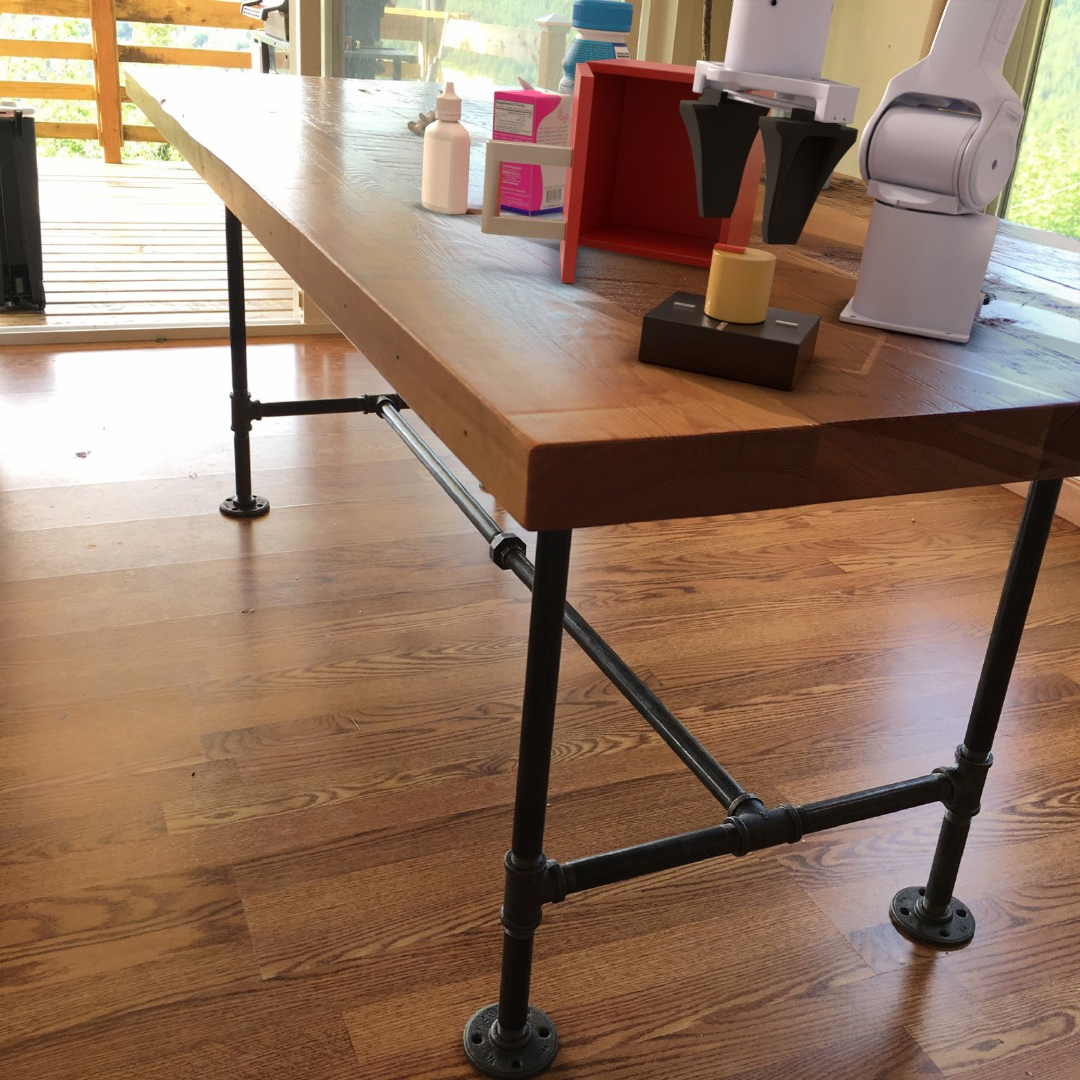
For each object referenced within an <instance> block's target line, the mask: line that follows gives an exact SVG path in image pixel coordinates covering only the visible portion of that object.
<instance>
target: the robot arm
mask: <svg viewBox="0 0 1080 1080" xmlns="http://www.w3.org/2000/svg"><path fill="white" fill-rule="evenodd" d="M732 1H733V2H732V7H731V14H730V15H731V16H730V21H729V29H728V36H727V43H726V50H725V56H724V61H715V60H713V61H712V60H702V59H701V60H700V59H698V60H696V64H695V67H696V70H695V78H694V85H693V92H696V93H700V94H702V97H699V101H691V100H682V101H681V102H680V113H681V115H682V118H683V120H684V123H685V126H686V128H687V132H688V135H689V139H690V142H691V147H692V152H693V157H694V164H695V173H696V184H697V197H698V207H699V215H700V216H701V217H703V218H731V216H732V213H733V211H734V208H735V205H736V202H737V199H738V194H739V190H740V186H741V182H742V177H743V173H744V169H745V165H746V162H747V159H748V156H749V153H750V150H751V147H752V145H753V142H754V140H755V138H756V136H757V133H758V131H759V129H760V131H761V136H762V141H763V147H764V166H765V167H764V169H765V174H766V180H765V185H764V186H765V187H764V198H763V209H762V216H761V217H762V219H761V235H762V236H761V237H762V243H764V244H767V245H771V246H772V245H773V246H774V245H775V246H776V245H778V246H779V245H780V246H783V245H785V246H787V245H788V246H789V245H790V246H791V245H792V246H795V245H797V244H798V242H799V239H800V237H801V235H802V232H803V230H804V228H805V226H806V223H807V221H808V219H809V216H810V215H811V213H812V210H813V208H814V206H815V204H816V202H817V200H818V197H819V195H820V194H821V192H822V190H823V189H822V188H823V186H824V184H825V183H826V181H827V179H828V178H829V176H830V174H831V173H832V171H833V170H834V171H835V169H836V167H837V166H838V164H839V163H840V161H841V160H842V159H843V157H844V156H845V155H846V154H847V152H849V150H850V149H851V148H852V147H853V146H854V145H855V144H856V142H857V139H858V134H859V129H858V128H855V127H851V126H847V125H852V124H854V119H855V114H856V110H857V105H858V99H859V94H860V89H861V87H860V86H856V85H851V84H848V83H843V82H841V81H840V82H839V81H835V80H833V79H829V78H826V77H823V76H821V75H822V72H823V65H824V61H825V54H826V49H827V44H828V38H829V33H830V27H831V22H832V18H833V17H832V16H833V11H834V4H835V0H732ZM1026 3H1027V0H947V2H946V4H945V8H944V10H943V13H942V16H941V19H940V22H939V25H938V28H937V30H936V33H935V36H934V38H933V42H932V45H931V48H930V50H929V53H928V54H927V55H926V56H925V57H923V58H922V59H921V60H919V61H917V62H916V63H914V64H912V65H911V66H909V67H907V68H906V69H904V70H902V71H901V72H900V73H897V74H896V75H895V76H893V77H892V78H890V80H889V81H888V84H887V86H886V90H885V92H884V94H883V96H882V99H881V101H880V103H879V104H878V107H877V108H876V110H875V111H874V113H873V114H872V116H871V117H870V118H869V120H868V121H867V123H866V125H865V127H864V129H863V130H862V131H863V132H862V134H861V137H860V140H859V144H858V149H857V164H858V167H859V168H858V169H859V173H860V176H861V179H862V181H863V182H864V185H866V186H867V189H866V193H865V196H866V197H870V198H873V203H872V208H871V212H870V217H869V222H868V225H867V231H866V236H865V241H864V246H863V250H862V255H861V260H860V265H859V270H858V274H857V279H856V284H855V288H854V293H853V296H852V297H851V298H850V299H849V301H848V303H847V304H846V305H845V307H844V308H843V310H842V311H841V312H840V314H839V317H838V320H839V321H840V322H843V323H850V324H855V325H860V326H866V327H871V328H877V329H881V330H888V331H893V332H900V333H905V334H910V335H916V336H921V337H928V338H932V339H933V338H934V339H939V340H945V341H950V342H954V343H962V344H967V343H968V342H969V340H970V335H971V331H972V328H973V324H974V320H975V318H979V317H980V315H981V312H982V308H983V304H984V301H985V297H986V293H985V292H982V289H983V286H984V282H985V278H986V275H987V271H988V267H989V263H990V259H991V255H992V251H993V249H994V248H993V247H994V243H995V239H996V237H997V232H998V229H999V228H998V227H999V224H1000V220H1001V218H1000V217H999V216H996V215H991V214H984V213H979V212H983V211H984V209H985V207H988V205H990V204H991V202H993V201H994V200H995V199H996V198H997V197H998V196H999V195H1000V194H1001V192H1002V191H1003V189H1004V188H1005V186H1006V185H1007V182H1008V181H1009V178H1010V177H1011V174H1012V171H1013V168H1014V164H1015V160H1016V154H1017V143H1018V138H1019V135H1020V130H1021V127H1022V124H1023V120H1024V116H1025V109H1024V106H1023V104H1022V101H1021V99H1020V96H1018V94H1017V93H1016V91H1015V90H1014V88H1013V87H1012V86H1011V84H1010V83H1009V82H1008V81H1007V79H1006V78H1005V76H1004V75H1003V74H1002V73H1003V72H1002V68H1003V65H1004V62H1005V59H1006V56H1007V54H1008V52H1009V49H1010V47H1011V44H1012V41H1013V38H1014V35H1015V33H1016V30H1017V28H1018V24H1019V22H1020V19H1021V16H1022V14H1023V11H1024V8H1025V6H1026ZM745 90H754V91H761V90H765V91H772V92H774V93H776V96H775V95H774V97H773V98H770V97H765V96H761V95H756V94H752V93H747V92H744V91H745ZM775 98H776V99H775ZM779 99H785V100H792V101H793V102H788V101H784V100H779ZM770 108H772V109H773V110H774V109H777V110H781V111H785V112H790V113H791V118H788V117H773V116H770V117H769V116H767V114H768V113H769V111H770ZM772 109H771V110H772ZM839 123H844V124H846V126H843V125H840V124H839ZM834 171H833V172H834Z"/></svg>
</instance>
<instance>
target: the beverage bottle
mask: <svg viewBox="0 0 1080 1080" xmlns="http://www.w3.org/2000/svg"><path fill="white" fill-rule="evenodd" d="M572 7H573V8H572V20H571V21H572V23H571V26H572V30H573V31H577V33H576V35H575V37H574V38H573V39H572V41H571V42H570V44H569V45H568V47H567V49H566V50H565V52H564V55H563V57H562V61H561V67H562V69H563V76H562V78H561V79H560V81H559V83H558V94H567V95H571V110H570V124H569V138H570V127H571V116H572V105H573V94H574V83H575V72H576V63H585V64H586V61H595V60H609V59H632V60H633V58H632V55H631V52H630V49H629V47H628V44H627V42H626V41H625V36H630V33H631V31H632V24H633V16H634V5H633V3H631V2H625V1H616V0H574V2H573V6H572ZM568 146H569V140H568ZM566 171H567V169H566Z"/></svg>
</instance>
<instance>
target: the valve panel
mask: <svg viewBox="0 0 1080 1080" xmlns="http://www.w3.org/2000/svg"><path fill="white" fill-rule="evenodd" d="M705 302H706V295H704V294H698V293H692V292H686V291H681V290H677V291H675V292H674V293H673V294H671V295H670V296H668V297H667V298H665V299H664V300H663V301H662V302H660V303H659V304H658V305H656V306H655V307H654V308H652V309H651V310H649V311H648V312H646V314H644V315H643V317H642V325H641V333H640V341H639V348H638V357H637V361H638V362H644V363H647V364H653V365H657V366H662V367H668V368H673V369H678V370H683V371H689V372H693V373H697V374H703V375H707V376H708V375H709V376H713V377H718V378H723V379H727V380H731V381H732V380H733V381H737V382H742V383H747V384H748V383H749V384H752V385H758V386H761V387H768V388H773V389H776V390H777V389H778V390H783V391H788V392H791V391H792V390H793V388H794V387H795V385H796V384H797V382H798V381H799V379H800V378H801V377H802V375H803V373H804V372H805V371H806V369H807V368H808V366H809V365H810V363H811V362H812V361H813V359H814V355H815V349H816V345H817V344H816V343H817V339H818V335H819V330H820V324H821V320H822V316H821V315H816V314H810V313H805V312H800V311H794V310H788V309H783V308H778V307H777V308H776V307H771V306H768V308H767V314H766V319H765V320H764V321H762V322H759V323H734V322H728V321H723V320H719V319H716V318H713V317H711V316H709V315H707V314H706V313H705V312H704V308H705Z"/></svg>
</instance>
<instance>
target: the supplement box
mask: <svg viewBox="0 0 1080 1080" xmlns="http://www.w3.org/2000/svg"><path fill="white" fill-rule="evenodd" d="M535 90H536V89H535ZM535 90H523V89H521V90H520V89H515V90H513V89H511V90H495V91H493V108H492V109H493V110H492V111H493V112H492V135H491V137H492V138H491V140H503V141H514V142H525V143H536V144H548V145H559V146H568V140H569V124H570V110H571V95H567V94H559V92H558V93H556V92H549V91H548V92H544V91H541V90H536V91H535ZM566 169H567V167H557V166H546V165H535V164H523V163H512V162H503V175H502V190H501V205H500V210H502V211H506V212H511V213H514V214H519V215H521V216H527V217H537V216H543V215H550V214H555V213H556V214H557V213H563V204H564V193H565V182H566Z"/></svg>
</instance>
